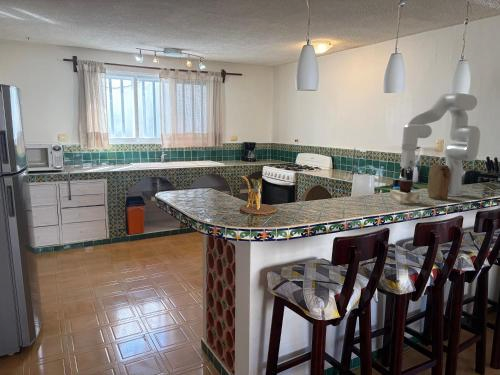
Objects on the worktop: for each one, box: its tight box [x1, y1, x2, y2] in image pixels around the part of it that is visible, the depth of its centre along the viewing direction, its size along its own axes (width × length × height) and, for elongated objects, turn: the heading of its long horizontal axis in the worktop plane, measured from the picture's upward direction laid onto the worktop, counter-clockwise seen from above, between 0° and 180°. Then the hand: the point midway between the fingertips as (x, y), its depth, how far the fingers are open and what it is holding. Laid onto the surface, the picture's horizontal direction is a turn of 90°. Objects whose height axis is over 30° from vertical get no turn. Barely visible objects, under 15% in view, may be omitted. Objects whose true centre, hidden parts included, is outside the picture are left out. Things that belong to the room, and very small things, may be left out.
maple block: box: [388, 189, 420, 205], centre depth 206 cm, size 11×11×6 cm
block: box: [427, 164, 451, 201], centre depth 214 cm, size 11×8×20 cm
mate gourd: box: [399, 166, 414, 193], centre depth 203 cm, size 8×8×15 cm
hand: (406, 178), depth 204 cm, fingers open, 9 cm apart
